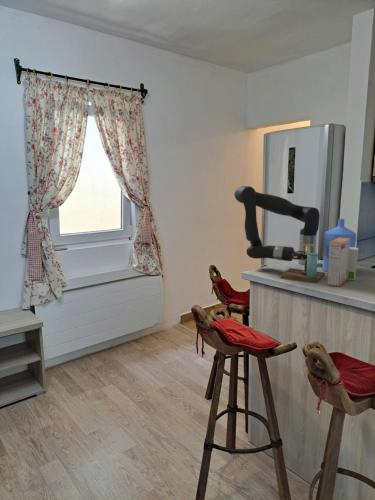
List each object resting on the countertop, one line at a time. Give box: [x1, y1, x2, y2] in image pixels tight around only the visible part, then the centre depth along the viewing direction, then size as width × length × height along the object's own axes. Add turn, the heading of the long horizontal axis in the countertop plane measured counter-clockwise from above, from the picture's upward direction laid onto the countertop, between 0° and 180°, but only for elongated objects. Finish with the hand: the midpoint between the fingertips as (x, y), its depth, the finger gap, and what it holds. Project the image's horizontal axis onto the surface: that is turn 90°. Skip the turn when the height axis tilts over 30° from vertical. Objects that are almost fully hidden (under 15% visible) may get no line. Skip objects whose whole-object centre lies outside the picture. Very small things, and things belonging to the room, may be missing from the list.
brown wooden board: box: [279, 268, 326, 284], centre depth 182 cm, size 15×18×2 cm
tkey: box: [302, 243, 314, 274], centre depth 182 cm, size 5×10×14 cm, turn 159°
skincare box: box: [347, 246, 359, 281], centre depth 179 cm, size 8×7×16 cm
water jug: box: [322, 218, 357, 273], centre depth 193 cm, size 16×16×28 cm
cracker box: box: [327, 238, 351, 287], centre depth 170 cm, size 14×6×21 cm, turn 141°
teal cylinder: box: [306, 252, 319, 278], centre depth 174 cm, size 5×5×12 cm
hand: (316, 256), depth 183 cm, fingers open, 3 cm apart
